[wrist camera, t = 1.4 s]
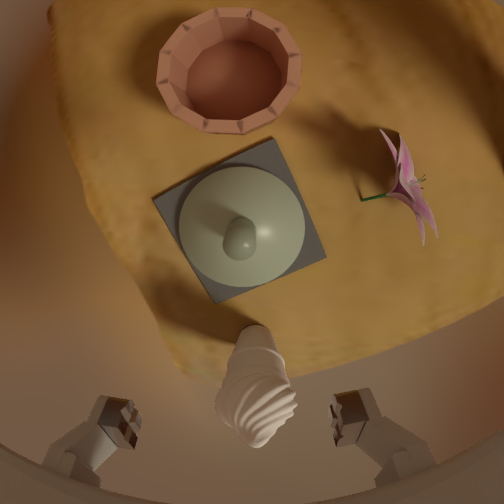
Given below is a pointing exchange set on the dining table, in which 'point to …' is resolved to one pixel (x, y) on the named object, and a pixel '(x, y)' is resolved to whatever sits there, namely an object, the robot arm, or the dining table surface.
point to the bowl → (229, 71)
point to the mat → (257, 157)
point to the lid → (241, 226)
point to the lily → (408, 187)
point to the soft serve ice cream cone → (255, 388)
